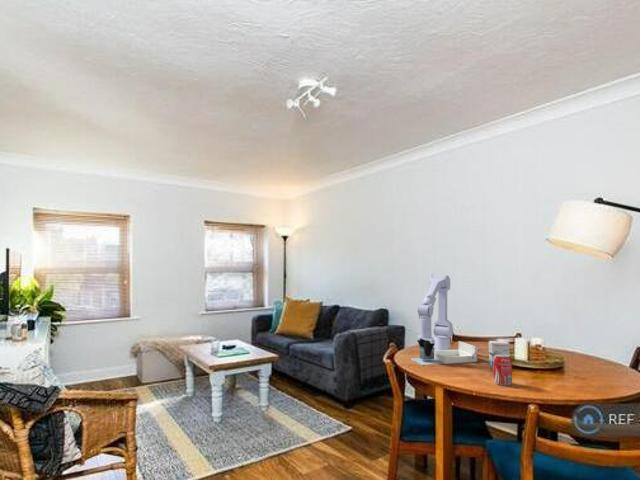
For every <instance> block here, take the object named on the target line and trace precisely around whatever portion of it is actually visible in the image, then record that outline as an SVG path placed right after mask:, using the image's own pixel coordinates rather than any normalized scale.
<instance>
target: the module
mask: <svg viewBox="0 0 640 480" xmlns="http://www.w3.org/2000/svg"><path fill="white" fill-rule="evenodd" d="M419 358H421V359H423V360H431V359H434V346H433V348H432V352H431V356H426V352H425V346H419ZM434 360H435V359H434Z"/></svg>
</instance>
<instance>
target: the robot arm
mask: <svg viewBox="0 0 640 480" xmlns="http://www.w3.org/2000/svg"><path fill="white" fill-rule="evenodd" d="M429 284H430V287H429V290H428V293H427V294H425V295H424V298H423V300H422V303H421V304H420V305H418V308H417V315H418V320H419V334H417V336H416V337H417V339H418V340H416V341H417V343H418V345H419V347H420V346H425V352H426V356H431V352H432V348H433V347H434V351H439V350H451V338H452V337H453V334H454V328H453V323H452V322H451V321H450V320H448V291H449V290H451V278H450V276H449V275H447V274H446V275H445V274H444V275H441V274H431V275H430V277H429ZM437 293H438V296H437ZM436 296H437V298H438V301H437V303H438V304H437V305H438V306H437V308H438V311H437V314H438V315H437V317H438V319H437V320H435V321H434V322H433V328H432V316H433V315H434V308H435V307H434V305H435V304H436V300H437V298H436ZM432 332H433V335H434V336H435V337H434V338H433V337H432Z"/></svg>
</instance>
